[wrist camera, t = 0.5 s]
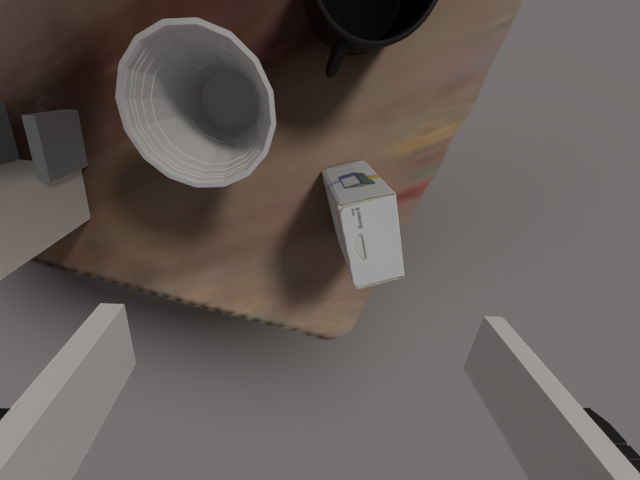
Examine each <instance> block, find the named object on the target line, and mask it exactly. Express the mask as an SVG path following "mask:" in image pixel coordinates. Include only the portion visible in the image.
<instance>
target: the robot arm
mask: <svg viewBox="0 0 640 480" xmlns="http://www.w3.org/2000/svg"><path fill="white" fill-rule="evenodd" d="M135 364H136V361H135V356H134V352H133V346H132V342H131V336H130V331H129V326H128V321H127V316H126V311H125V305H124V304H102V303H101V304H100V305H99V306H98V307H97V308H96V309H95V310H94V312H93V313H92V314H91V315H90V316H89V317H88V319H87V320H86V321H85V322H84V323H83V325H82V326H81V327H80V328H79V329H78V330H77V331H76V333H75V334H74V335H73V336H72V337H71V338H70V340H69V341H68V342H67V343H66V345H64V347H63V348H62V349H61V350H60V351H59V352H58V354H57V355H56V356H55V357H54V358H53V359H52V361H51V362H50V363H49V364H48V365H47V367H46V368H45V369H44V370H43V371H42V372H41V374H40V375H39V376H38V377H37V378H36V379H35V381H34V382H33V383H32V384H31V385H30V386H29V388H28V389H27V390H26V391H25V392H24V393H23V395H22V396H21V397H20V398H19V399H18V401H17V402H16V403H15V404H14V405H13V406H12V407H11V408H9V409H4V408H3V409H1V408H0V480H72V478H73V476H74V475H75V473H76V471H77V469H78V467H79V466H80V464H81V462H82V460H83V458H84V457H85V455H86V453H87V451H88V449H89V447H90V446H91V444H92V442H93V440H94V438H95V436H96V435H97V433H98V431H99V429H100V427H101V426H102V424H103V422H104V420H105V418H106V417H107V415H108V413H109V411H110V409H111V408H112V405H113V404H114V402H115V400H116V398H117V397H118V395H119V393H120V391H121V389H122V388H123V386H124V384H125V382H126V380H127V378H128V377H129V375H130V373H131V371H132V369H133V367H134V366H135ZM464 370H465V372H466V374H467V375H468V377H469V379H470V380H471V382H472V384H473V385H474V387H475V389H476V391H477V392H478V394H479V396H480V397H481V399H482V401H483V403H484V404H485V406H486V408H487V409H488V411H489V412H490V414H491V416H492V418H493V419H494V421H495V423H496V425H497V426H498V428H499V430H500V431H501V433H502V435H503V437H504V438H505V440H506V442H507V443H508V445H509V447H510V449H511V450H512V452H513V453H514V455H515V457H516V459H517V460H518V462H519V464H520V465H521V467H522V469H523V470H524V472H525V474H526V476H527V477H528V479H529V480H640V456H639V455H638V454H637V453H636V452H635V451H634V450H633V449H632V447H631V446H628V445H627V444H626V441H625V440H624V439H623V438H622V437H621V436H620V434H619V433H618V432H617V431H616V430H615V429H614V428H613V427H612V426H611V425H610V424H609V423H608V422H607V421H605V420H604V419H603V418H602V417H600V416H599V415H598V414H596V413H595V412H594V411H592V410H591V409H590V408H582V407H581V406H580V405H579V404H578V403H577V402H576V400H575V399H574V398H573V397H572V396H571V395H570V393H569V392H568V391H567V390H566V389H565V388H564V387H563V385H562V384H561V383H560V382H559V381H558V380H557V379H556V377H555V376H554V375H553V374H552V373H551V372H550V371H549V370H548V368H547V367H546V366H545V365H544V364H543V363H542V361H541V360H540V359H539V358H538V357H537V356H536V355H535V354H534V352H533V351H532V350H531V349H530V348H529V347H528V346H527V344H526V343H525V342H524V341H523V340H522V339H521V338H520V337H519V335H518V334H517V333H516V332H515V331H514V330H513V328H512V327H511V326H510V325H509V324H508V323H507V322H506V321H505V319H504V318H503V317H484V318H483V320H482V323H481V325H480V328H479V331H478V333H477V335H476V338H475V341H474V343H473V345H472V348H471V351H470V353H469V355H468V358H467V360H466V363H465V366H464Z"/></svg>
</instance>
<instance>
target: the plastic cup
mask: <svg viewBox="0 0 640 480" xmlns="http://www.w3.org/2000/svg"><path fill="white" fill-rule="evenodd" d="M115 99H116V102H117V106H118V109H119V113H120V117H121V120H122V124H123V128H124V131H125V132H126V134H127V135H128V137H129V138H130V139H131V141H132V142H133V144H134V145H135V147H136V148H137V150H138V151H139V153H140V154H141V156H142V157H143V158H144V159H145V160H146V161H147V162H149V163H150V164H151V165H153V166H154V167H155V168H156V169H158V170H159V171H160V172H162V173H163V174H164V175H165V176H167V177H168V178H170V179H173V180H176V181H179V182H182V183H185V184H188V185H190V186H193V187H196V188H202V187H225V186H228V185H230V184H232V183H234V182H236V181H238V180H240V179H243V178H245V177H247V176H249V175H250V174H251V173H252V172H253V170H254V169H255V168H256V167H257V166H258V165H259V163H260V162H261V161H262V160H263V159H264V158H265V156H266V155H267V154H268V151H269V147H270V144H271V141H272V138H273V134H274V131H275V128H276V115H275V104H274V92H273V89H272V87H271V85H270V83H269V81H268V79H267V77H266V74H265V72H264V70H263V68H262V66H261V64H260V62H259V59H258V58H257V57H256V56H255V55H254V54H253V53H252V52H251V51H250V50H249V49H248V48H247V47H246V46H245V45H244V44H243V43H242V42H241V41H240V40H239V39H238V38H237V37H236V36H235V35H234V34H233V33H232V32H231V31H228V30H226V29H224V28H221V27H219V26H217V25H214V24H212V23H209V22H207V21H205V20H202V19H200V18H198V17H194V18H169V19H162V20H160V21H158V22H157V23H155V24H153V25H152V26H150V27H148V28H147V29H145V30H143V31H142V32H140V33H138V34H137V35H135V36H134V38H133V40H132V42H131V43H130V45H129V47H128V48H127V50H126V52H125V53H124V55H123V57H122V58H121V60H120V62H119V63H118V73H117V83H116V93H115Z"/></svg>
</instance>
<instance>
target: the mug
mask: <svg viewBox="0 0 640 480" xmlns="http://www.w3.org/2000/svg"><path fill="white" fill-rule="evenodd" d="M437 1H438V0H305V7H306V11H307V15H308V18H309V21H310V23H311V25H312V27H313V29H314V30H315V32H316V34H317V35H318V36H319V37H320V39H321V40H322V41H323V42H324V43H325V44H327V45H328V46H329V47H331V48H332V49H331V50H332V52H331V55H330V57H329V60H328V63H327V66H326V76H327V77H328V78H331V77H333V76H334V75H335V74H336V72H337V70H338V69H339V67H340V65H341V62H342V60H343V58H344V56H345V54H348V55H360V54H366V53H369V52H372V51H374V50H377V49H380V48H383V47H386V46H388V45H391V44H394V43H396V42H399V41H401V40H402V39H404V38H406V37H408V36H409V35H410V34H412V33H413V32H414V31H415V30H416V29H418V28H419V27H420V26H421V25H422V23H423V22H424V21H425V20H426V19H427V17H428V16H429V15H430V13H431V12H432V10H433V8H434V7H435V5H436V3H437Z"/></svg>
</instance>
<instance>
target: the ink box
mask: <svg viewBox="0 0 640 480" xmlns="http://www.w3.org/2000/svg"><path fill="white" fill-rule="evenodd" d="M322 177H323V181H324V185H325V189H326V194H327V198H328V202H329V206H330V210H331V214H332V218H333V223H334V227H335V231H336V236H337V238H338V241H339V244H340V247H341V250H342V253H343V255H344V258H345V261H346V264H347V267H348V269H349V272H350V275H351V278H352V281H353V284H354V287H355V288H357V289H360V288H364V287H368V286H373V285H377V284H381V283H385V282H389V281H392V280H396V279H400V278H403V277H405V275H404V267H403V258H402V248H401V238H400V229H399V219H398V210H397V202H396V194H395V192H394V191H393V190H392V189H391V188H390V187H389V186H388V185H387V184H386V183H385V182H384V181H383V180H382V179H381V178H380V177H379V176H378V175H377V174H376V173H375V172H374V170H372V169H371V167H370V166H369V165H368V164H367V163H366V162H365V161H364V160H362V161H356V162H352V163H348V164H344V165H340V166H336V167H332V168H328V169H325V170H323V171H322Z"/></svg>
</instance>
